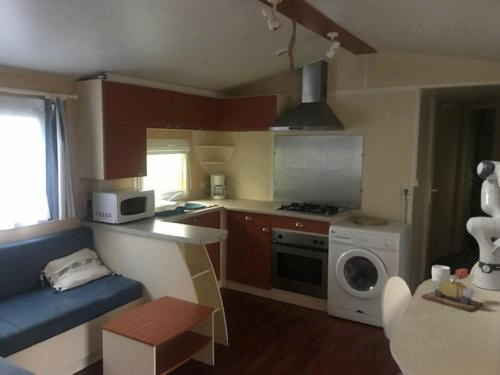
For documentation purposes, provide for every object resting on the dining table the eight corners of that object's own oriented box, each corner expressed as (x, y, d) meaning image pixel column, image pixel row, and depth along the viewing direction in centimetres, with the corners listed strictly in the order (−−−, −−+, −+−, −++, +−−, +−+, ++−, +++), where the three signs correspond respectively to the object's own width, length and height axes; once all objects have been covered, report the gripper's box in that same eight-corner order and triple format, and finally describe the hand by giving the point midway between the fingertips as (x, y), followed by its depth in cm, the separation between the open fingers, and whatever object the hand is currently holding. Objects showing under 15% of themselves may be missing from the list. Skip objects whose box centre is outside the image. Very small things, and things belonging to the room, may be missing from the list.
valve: (436, 293, 207) (437, 277, 206) (473, 303, 193) (474, 286, 192) (430, 295, 203) (431, 279, 203) (468, 306, 189) (469, 288, 188)
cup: (447, 292, 214) (448, 270, 214) (428, 289, 220) (430, 267, 219) (450, 288, 222) (451, 267, 221) (433, 285, 227) (434, 264, 226)
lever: (454, 282, 196) (455, 273, 195) (448, 281, 198) (449, 272, 198) (467, 278, 204) (467, 269, 204) (461, 277, 206) (462, 268, 206)
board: (435, 293, 212) (436, 290, 212) (482, 306, 194) (482, 303, 194) (421, 298, 204) (421, 295, 204) (469, 311, 186) (469, 308, 185)
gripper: (504, 229, 205) (482, 247, 207) (526, 235, 185) (501, 255, 187) (513, 238, 205) (491, 256, 206) (536, 246, 184) (511, 266, 186)
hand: (496, 256), depth 196 cm, fingers open, 7 cm apart
